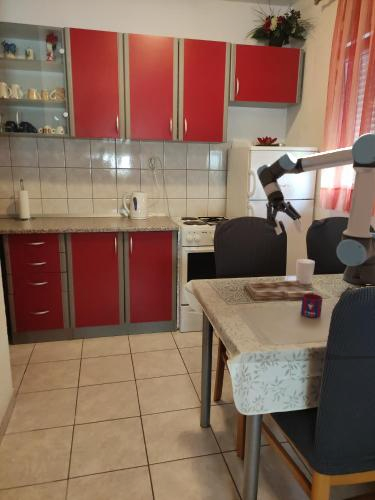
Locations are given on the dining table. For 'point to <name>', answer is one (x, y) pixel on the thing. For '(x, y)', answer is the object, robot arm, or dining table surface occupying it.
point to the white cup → (304, 271)
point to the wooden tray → (276, 290)
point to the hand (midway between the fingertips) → (290, 232)
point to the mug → (311, 305)
